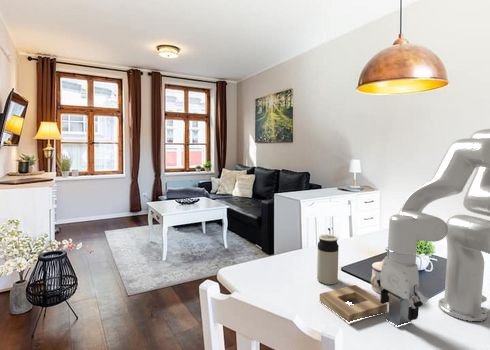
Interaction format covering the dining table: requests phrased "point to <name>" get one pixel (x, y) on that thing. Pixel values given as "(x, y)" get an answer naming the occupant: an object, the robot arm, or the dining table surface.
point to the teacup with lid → (375, 269)
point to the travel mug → (327, 259)
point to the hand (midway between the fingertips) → (397, 310)
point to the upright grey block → (398, 309)
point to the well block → (360, 298)
